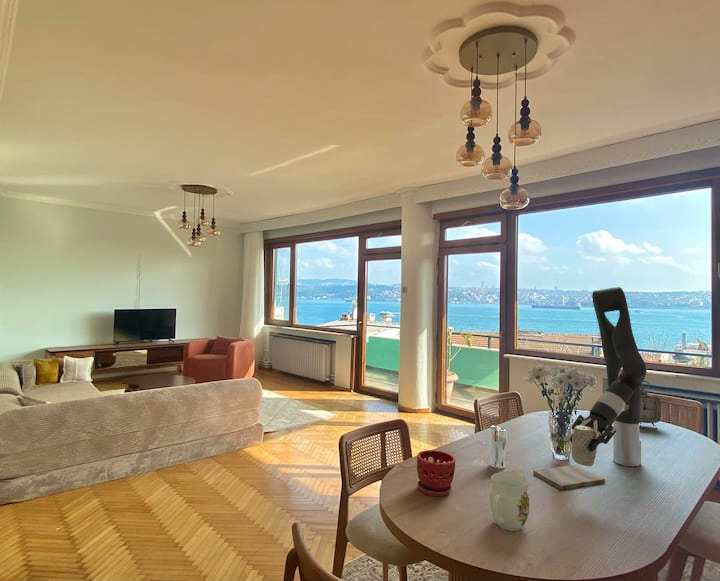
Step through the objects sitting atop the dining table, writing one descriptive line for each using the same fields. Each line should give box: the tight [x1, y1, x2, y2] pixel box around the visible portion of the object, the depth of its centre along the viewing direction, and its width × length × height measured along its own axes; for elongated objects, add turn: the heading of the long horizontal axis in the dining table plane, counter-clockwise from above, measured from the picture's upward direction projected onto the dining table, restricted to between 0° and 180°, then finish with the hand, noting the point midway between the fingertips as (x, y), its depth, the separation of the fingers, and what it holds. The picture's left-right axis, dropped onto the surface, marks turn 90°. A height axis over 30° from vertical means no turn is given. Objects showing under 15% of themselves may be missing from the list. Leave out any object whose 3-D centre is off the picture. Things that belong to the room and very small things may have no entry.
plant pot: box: [416, 449, 456, 497], centre depth 148 cm, size 13×13×12 cm
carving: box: [570, 426, 598, 467], centre depth 142 cm, size 6×8×12 cm
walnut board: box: [532, 464, 606, 491], centre depth 160 cm, size 20×14×2 cm
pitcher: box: [489, 469, 530, 532], centre depth 125 cm, size 11×18×14 cm, turn 137°
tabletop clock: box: [624, 380, 662, 427], centre depth 230 cm, size 14×9×25 cm, turn 81°
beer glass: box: [488, 425, 508, 470], centre depth 171 cm, size 7×7×15 cm
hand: (580, 445), depth 142 cm, fingers closed on carving, 7 cm apart
